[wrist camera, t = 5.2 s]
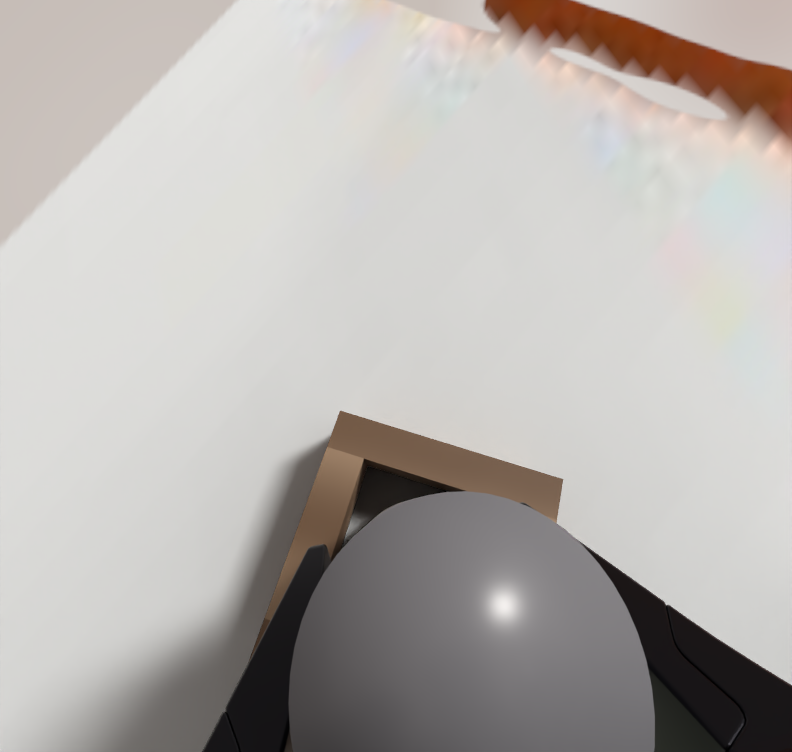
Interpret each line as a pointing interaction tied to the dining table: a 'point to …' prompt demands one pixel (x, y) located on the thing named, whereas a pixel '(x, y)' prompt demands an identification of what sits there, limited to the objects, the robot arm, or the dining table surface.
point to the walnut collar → (408, 458)
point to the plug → (468, 639)
